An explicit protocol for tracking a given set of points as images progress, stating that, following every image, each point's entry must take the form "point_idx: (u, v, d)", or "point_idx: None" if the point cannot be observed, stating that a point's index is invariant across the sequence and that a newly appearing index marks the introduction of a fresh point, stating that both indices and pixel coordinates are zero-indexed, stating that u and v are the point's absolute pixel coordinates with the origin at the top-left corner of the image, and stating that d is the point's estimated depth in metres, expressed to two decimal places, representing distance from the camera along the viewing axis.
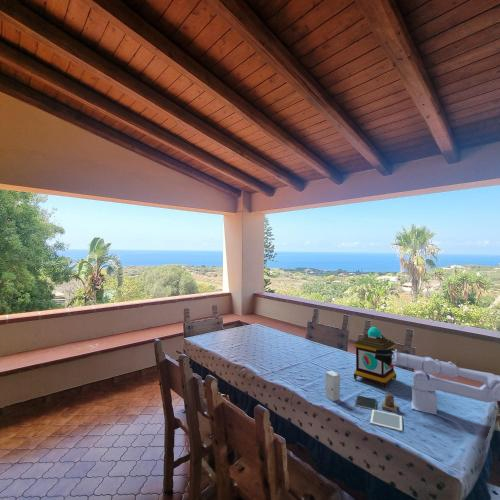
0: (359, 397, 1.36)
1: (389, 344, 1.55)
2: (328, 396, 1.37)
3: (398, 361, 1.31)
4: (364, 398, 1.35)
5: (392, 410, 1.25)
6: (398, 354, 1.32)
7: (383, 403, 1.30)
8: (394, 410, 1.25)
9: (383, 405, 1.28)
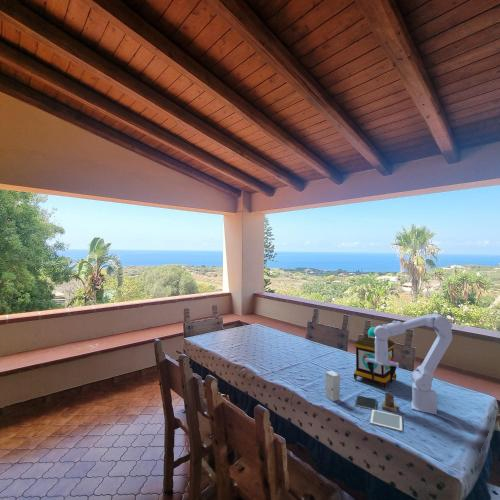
0: (359, 397, 1.36)
1: (389, 344, 1.55)
2: (328, 396, 1.37)
3: (387, 359, 1.33)
4: (364, 398, 1.35)
5: (392, 410, 1.25)
6: (384, 361, 1.32)
7: (383, 403, 1.30)
8: (394, 410, 1.25)
9: (383, 405, 1.28)
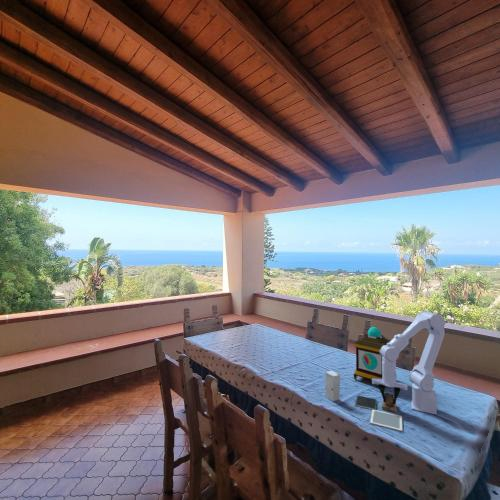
0: (359, 397, 1.36)
1: None
2: (328, 396, 1.37)
3: (395, 381, 1.28)
4: (364, 398, 1.35)
5: (392, 410, 1.25)
6: (392, 383, 1.26)
7: (383, 403, 1.30)
8: (394, 410, 1.25)
9: (383, 405, 1.28)
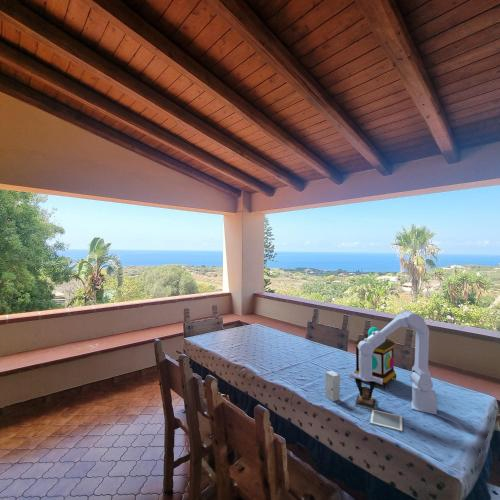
0: None
1: (389, 344, 1.55)
2: (328, 396, 1.37)
3: None
4: None
5: (367, 402, 1.29)
6: (368, 377, 1.30)
7: (360, 396, 1.34)
8: (369, 402, 1.29)
9: (359, 398, 1.32)
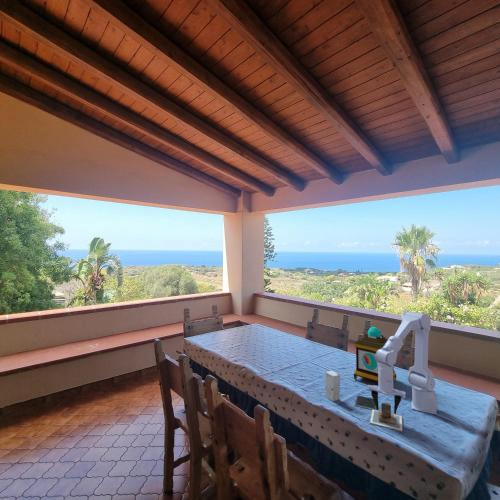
0: (359, 397, 1.36)
1: None
2: (328, 396, 1.37)
3: None
4: (364, 398, 1.35)
5: (390, 421, 1.15)
6: (389, 390, 1.16)
7: (379, 414, 1.20)
8: (392, 421, 1.15)
9: (380, 416, 1.18)
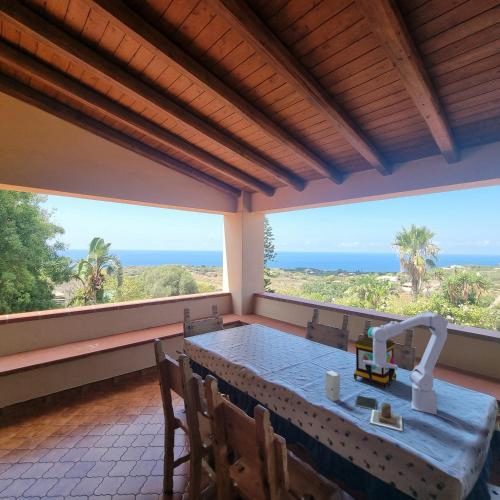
0: (359, 397, 1.36)
1: (389, 344, 1.55)
2: (328, 396, 1.37)
3: None
4: (364, 398, 1.35)
5: (390, 421, 1.15)
6: (383, 363, 1.29)
7: (379, 414, 1.20)
8: (392, 421, 1.15)
9: (380, 416, 1.18)
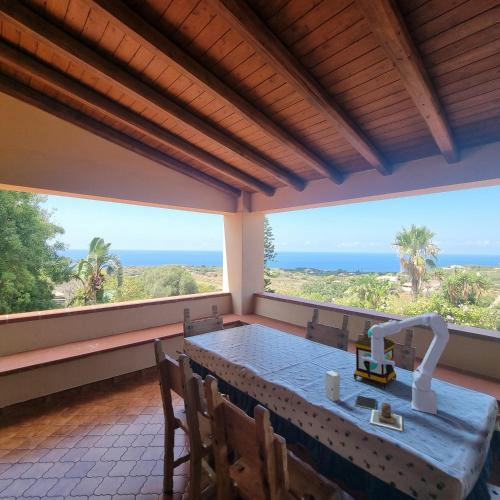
0: (359, 397, 1.36)
1: (389, 344, 1.55)
2: (328, 396, 1.37)
3: None
4: (364, 398, 1.35)
5: (390, 421, 1.15)
6: (380, 359, 1.33)
7: (379, 414, 1.20)
8: (392, 421, 1.15)
9: (380, 416, 1.18)
